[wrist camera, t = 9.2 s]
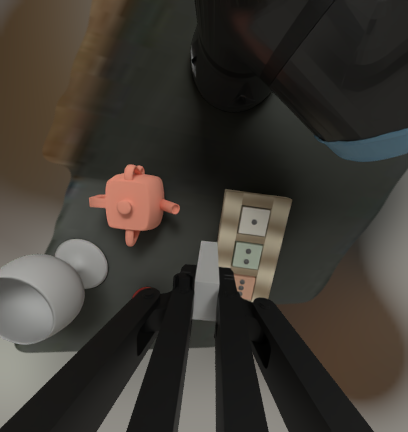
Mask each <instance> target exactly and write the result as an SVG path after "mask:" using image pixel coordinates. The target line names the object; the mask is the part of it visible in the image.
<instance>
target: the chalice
mask: <svg viewBox="0 0 408 432" xmlns="http://www.w3.org/2000/svg"><path fill="white" fill-rule="evenodd" d="M107 273H108V263H107V260H106V258H105V256H104V254H103V252H102V251H101V250H100V249H99V248H98V247H97V246H96V245H94V244H92V243H91V242H89V241H86V240H83V239H70V240H67V241H65V242H63V243H62V244H60V246H59V247H58V248H57V250H56V252H55V256H50V255H44V254H35V255H27V256H23V257H20V258H18V259H16V260H13V261H11V262H9V263H8V264H6V265H4V266H3V267H2V268H0V337H1V338H2V339H4V340H7V341H9V342H12V343H17V344H33V343H37V342H40V341H42V340H45V339H47V338H49V337H51V336H53V335H54V334H56V333H57V332H59V331H60V330H62V329H63V328H65V327H66V326H67V325H68V324H70V323H71V322H72V321H73V320H74V318H75V317H76V316H77V315H78V314H79V312H80V310H81V308H82V306H83V303H84V298H85V291H84V289H89V288H94V287H97V286H98V285H100V284H101V283H102V282H103V281H104V280H105V278H106V276H107Z"/></svg>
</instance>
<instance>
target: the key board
mask: <svg viewBox="0 0 408 432" xmlns="http://www.w3.org/2000/svg"><path fill="white" fill-rule="evenodd" d="M291 203H292V199H290V198H287V197H281V196H274V195H266V194H259V193H251V192H244V191H236V190H229V189H225V193H224V199H223V206H222V212H221V219H220V225H219V232H218V238H217V246H218V264H219V267H226V268H231V270H232V271H233V273H234V274H241V275H249V276H255V278H256V279H255V284H254V288H253V293H252V297H251V300H248V299H245V300H248V301H251V302H253V301H254V299H256V298H259V297H260V298H266V299H268V297H269V293H270V289H271V285H272V281H273V277H274V273H275V268H276V264H277V260H278V256H279V252H280V248H281V244H282V240H283V236H284V232H285V228H286V223H287V219H288V215H289V211H290V207H291ZM242 205H246V206H253V207H261V208H267V209H269V210H270V215H269V220H268V224H267V229H266V234H265V236H258V235H251V234H243V233H238V230H237V228H238V223H239V217H240V211H241V206H242ZM235 241H243V242H250V243H257V244H262V246H263V247H262V252H261V256H260V261H259V266H258V270H257V269H249V268H242V267H235V266H232V262H231V261H232V256H233V250H234V245H235Z"/></svg>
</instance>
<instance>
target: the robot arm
mask: <svg viewBox="0 0 408 432" xmlns="http://www.w3.org/2000/svg"><path fill="white" fill-rule="evenodd" d="M195 7H196V15H197V23H198V24H197V27H196V29H195V32H194V35H193V39H192V43H191V52H190V61H191V69H192V74H193V78H194V81H195V84H196V86H197V88H198V90H199V92H200V94H201V95H202V96H203V98H204V99H205V100H206V101H207V102H208V103H210V104H211V105H212V106H214V107H216V108H218V109H220V110H223V111H227V112H241V111H245V110H248V109H251V108H253V107H255V106H256V105H258V104H259V103H261V102H262V101H263V100H264V99H265V98H266V97H267V96H268V95H269V94H270V92H271V91H273V92H274V94H275V95H276V96H277V97H278V98H279V99H280V100H281V101H282V102H283V103H284V104H285V105H286V106H287V107H288V108H289V109H290V110H291V111H292V112H293V113H294V114H295V115H296V116H297V117H298V118H299V119H300V120H301V121H302V122H303V123H304V124H305V125H306V127H307V128H308V129H309V130H310V131H311V132H312V133H313V134H314V137H315V138H316V139H317V140H318V141H319V142H321V143H324V144H325V145H326V146H328V147H329V148H330V149H331V150H332V151H333V152H334V153H335V154H336V155H338V156H339V157H341V158H343V159H346V160H352V161H357V162H369V161H377V160H383V159H388V158H392V157H396V156H400V155H403V154H406V153H408V0H195ZM192 319H197V320H207V321H216V325H215V334H214V338H215V364H216V366H215V367H216V368H215V370H216V432H269V431H268V427H267V422H266V417H265V412H264V407H263V402H262V397H261V393H260V388H259V383H258V378H257V373H256V369H255V364H254V359H253V355H254V357H255V359H256V361H257V363H258V366H259V367H260V370H261V372H262V374H263V376H264V379H265V381H266V383H267V385H268V387H269V390H270V392H271V394H272V396H273V398H274V400H275V403H276V405H277V407H278V409H279V411H280V414H281V416H282V418H283V420H284V423H285V425H286V427H287V429H288V431H289V432H374V431H373V430H372V429H371V427H370V426H369V425H368V423H367V422H366V421H365V419H364V418H363V417H362V416H361V414H360V413H359V412H358V411H357V409H356V408H355V407H354V405H353V404H352V403H351V401H349V399H348V398H347V396H346V395H345V394H344V393H343V391H342V390H341V389H340V387H339V386H338V385H337V383H336V382H335V381H334V380H333V378H332V377H331V376H330V374H329V373H328V372H327V371H326V369H325V368H324V367H323V366H322V364H321V363H320V362H319V360H318V359H317V358H316V356H315V355H314V354H313V353H312V351H311V350H310V349H309V347H308V346H307V345H306V344H305V342H304V341H303V340H302V338H301V337H300V336H299V334H298V333H297V332H296V331H295V329H294V328H293V327H292V325H291V324H290V323H289V322H288V320H287V319H286V318H285V316H284V315H283V314H282V313H281V311H280V310H279V309H278V308H277V306H276V305H275V304H274V303H273V302H272V301H271V300H269V299H266V298H260V297H259V298H256V299H254V301H253V302H251V301H248V300H245V299H243V298H242V297H241V296H240V294H239V292H238V291H237V288H236V283H235V278H234V273H233V271H232V270H231V268H226V267H219V264H218V246H217V242H209V241H201V246H200V252H199V258H198V265H187V264H185V265H184V266H183V267H182V269H181V272H180V273H178V274H176V275H175V276H174V278H173V291H171V292H168V293H163V294H160V292H159V291H158V290H157V289H155V288H145V289H142V290H141V291H139V292H138V293H137V294H136V295H135V296H134V297H133V298H132V299H131V300H130V301H129V302H128V303H127V304H126V305H125V306H124V307H123V308H122V309H121V310H120V311H119V312H118V313H117V314H116V315H115V316H114V317H113V318H112V319H111V320H110V321H109V322H108V323H107V324H106V325H105V326H104V327H103V328H102V329H101V330H100V331H99V332H98V333H97V334H96V335H95V336H94V337H93V338H92V339H91V340H90V341H89V342H88V343H87V344H85V345H84V346H83V347H82V348H81V349H80V350H79V351H78V352H77V354H75V355H74V356H73V357H72V358H71V359H70V360H69V361H68V362H67V363H66V364H65V365H64V366H63V367H62V368H61V369H60V370H59V371H58V372H57V373H56V374H55V375H54V376H53V377H52V378H51V379H50V380H49V381H48V382H47V383H46V384H45V385H44V386H43V387H42V388H41V389H40V390H39V391H38V392H37V393H36V394H35V395H34V396H33V397H32V398H31V399H30V400H29V401H28V402H27V403H26V404H25V405H24V406H23V407H22V408H21V409H20V410H19V411H18V412H17V413H16V414H15V415H14V416H13V417H12V418H11V419H9V420H8V422H7V423H5V424H4V425H3V426H2V427H1V428H0V432H97V430H98V428H99V427H100V425H101V424H102V422H103V421H104V419H105V417H106V416H107V414H108V413H109V411H110V410H111V408H112V406H113V405H114V403H115V402H116V400H117V398H118V397H119V395H120V394H121V392H122V391H123V389H124V387H125V386H126V384H127V382H128V381H129V379H130V378H131V376H132V375H133V373H134V371H135V370H136V368H137V367H138V365H139V364H140V362H141V360H142V359H143V357H144V356H145V354H146V352H147V351H148V349H149V348H150V346H151V345H152V343H153V341H154V340H155V338H156V337H157V340H156V343H155V346H154V349H153V352H152V355H151V358H150V361H149V364H148V367H147V370H146V373H145V376H144V379H143V382H142V386H141V389H140V391H139V394H138V397H137V401H136V404H135V407H134V410H133V413H132V416H131V419H130V422H129V425H128V428H127V431H126V432H178V425H179V418H180V410H181V403H182V395H183V387H184V380H185V372H186V365H187V358H188V350H189V343H190V335H191V328H192ZM157 335H158V336H157ZM252 352H253V354H252Z"/></svg>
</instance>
